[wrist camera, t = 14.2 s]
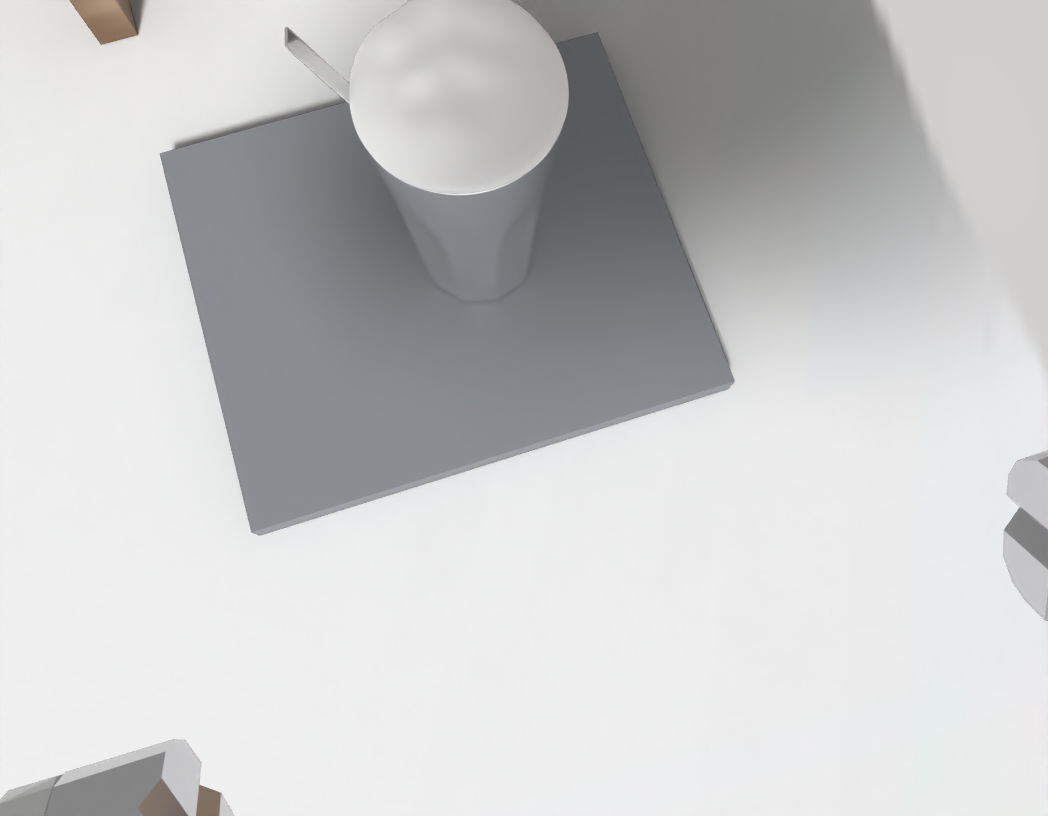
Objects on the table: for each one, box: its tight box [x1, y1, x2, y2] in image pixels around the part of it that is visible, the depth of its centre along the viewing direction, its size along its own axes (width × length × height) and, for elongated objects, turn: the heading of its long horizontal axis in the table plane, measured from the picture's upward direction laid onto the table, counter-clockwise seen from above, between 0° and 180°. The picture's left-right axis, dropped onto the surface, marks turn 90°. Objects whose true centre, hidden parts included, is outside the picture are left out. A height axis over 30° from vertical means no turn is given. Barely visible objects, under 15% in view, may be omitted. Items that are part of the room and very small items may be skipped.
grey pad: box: [160, 32, 735, 535], centre depth 27 cm, size 14×12×1 cm
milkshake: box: [285, 0, 569, 302], centre depth 21 cm, size 4×5×10 cm
